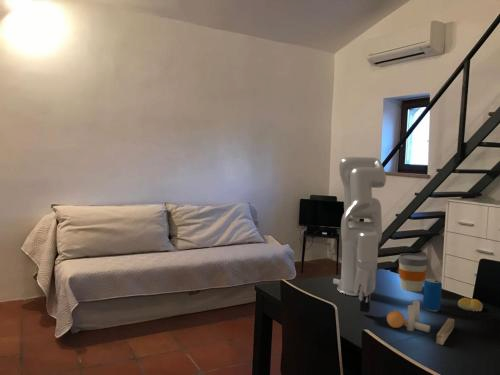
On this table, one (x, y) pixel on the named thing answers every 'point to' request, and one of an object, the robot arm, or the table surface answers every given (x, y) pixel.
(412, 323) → the pin
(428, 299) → the beverage can
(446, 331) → the cream long bar
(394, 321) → the ball
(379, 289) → the table surface
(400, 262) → the reusable coffee cup
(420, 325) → the front pin
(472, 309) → the bread roll
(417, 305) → the pin
